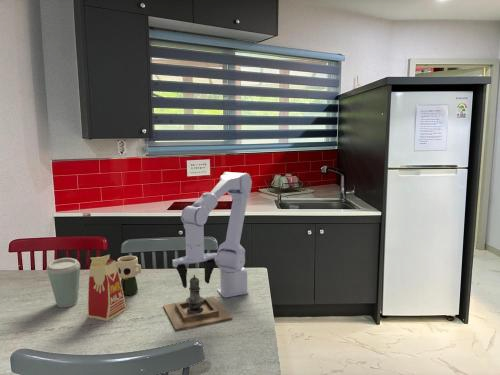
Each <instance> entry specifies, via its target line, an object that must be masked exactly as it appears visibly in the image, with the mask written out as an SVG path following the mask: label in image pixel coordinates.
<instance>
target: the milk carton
mask: <svg viewBox="0 0 500 375" xmlns="http://www.w3.org/2000/svg"><path fill="white" fill-rule="evenodd" d="M110 256H111V254H107V255H104V256H96V257H89V259H90V260H91V263H90V266H89V271H88V273H89V275H88V285H87V286H88V288H87V289H88V290H87V295H88V297H87V314H88V315H87V317H88V318H89V319H98V320H101V321H105V322H109V321H110V320H112V319H113V318H115V317H117V316H118V315H120V314H121V313H124V312H125V311H126V310H127V305H126V300H125V293H124V292H123V289H122V285H121V277H119V273H118V269H117V265H116V262H117V261H116V260H115V259H112V258H110Z"/></svg>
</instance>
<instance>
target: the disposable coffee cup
mask: <svg viewBox="0 0 500 375" xmlns="http://www.w3.org/2000/svg"><path fill="white" fill-rule="evenodd" d="M45 270H46V273H47V274H48V278H49V281H50V285H51V289H52V293H53V296H54V299H55V300H54V301H55V304H56V305H57V307H58V308H70V307H72V306H74V305H76V304H77V303H78V300H79V290H80V289H79V288H80V275H81V273H80V271H81V263H80V262H79V261H78V259H76V258H72V257H62V258H58V259H53V260H52V261H50V262H48V264H47V266H46V269H45Z"/></svg>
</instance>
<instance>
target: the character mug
mask: <svg viewBox="0 0 500 375" xmlns="http://www.w3.org/2000/svg"><path fill="white" fill-rule="evenodd" d="M138 261H139V260H138V257H137V255H125V256H120V257H119V258H117V261H115V262H116V265H117V269H118V273H119V277H120V281H121V285H122V289H123V293H124V296H127V295H129V296H130V295H134V294H135V293H137V292H138V291H139V288H138V283H137V282H138V281H137V276H138V275H139V274H141V273H142V266H141V264H139V262H138Z"/></svg>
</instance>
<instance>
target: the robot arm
mask: <svg viewBox="0 0 500 375" xmlns="http://www.w3.org/2000/svg"><path fill="white" fill-rule="evenodd" d="M252 186H253V181H252V178H251V175H250V174H249V173H247V172H244V173H243V172H230V171H224V172H223V174H222V175H220V177H219V182H218V183H217V184H216V185H215V186H214V187H213V189H212V190H211V191H210V192H209V191H208V192H203V193H201V196H200V197H199V198H198V199H197V200H196V201H194V202H193V204H191V205H187V206H186V207H184V208H183V209H182V211H181V215H180V220H181V222H182V223H183V228H184V230H185V256H182V257H178V258H175V259H171V260H172V267H173V268H175V269H176V270H177V273H178V274H179V277H180V280H181V283H182V284H181V285H182V287H183V288H184V289H186V288H187V287H188V284H187V275H188V268H187V267H186V265H191V264H197V263H203V268H204V269H203V270H204V282H205V283H206V284H210V280H211V275H212V273H213V270H214V269H215V267H216V266H217V267H218V270H219V272H220V280H219V281H220V288H216V291H217V292H218V293H219V294H220V295H221V296H222V297H223V299H224V298H230V297H236V296H242V295H247V294H249V292H248V272H247V270H246V268H245V267H244V266H245V264H246V249H245V248H244V247H243V245H241V243H240V242H241V237H242V233H243V232H242V231H243V226H244V220H245V214H246V209H247V204H248V198H249V197H250V196H251V189H252ZM226 193H227V194H228V195H229V196H230V197H231V198H232V204H231V209H230V215H229V220H228V225H227V231H226V235H225V236H226V237H225V241H223V242H222V243H221V244H219V246H218V249H217V252H211V253H209V252H208V253H205V236H204V235H205V234H204V233H205V232H204V230H205V229H204V225H205V224H206V223H207V221H208V217H209V216H210V213H211V212H212V211H213V210H214V209H215V208H216V207H217V206H218V204H219V203H218V202H219V201H218V200H219V199H221V198H222V197H223V196H224V195H225V194H226Z"/></svg>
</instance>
